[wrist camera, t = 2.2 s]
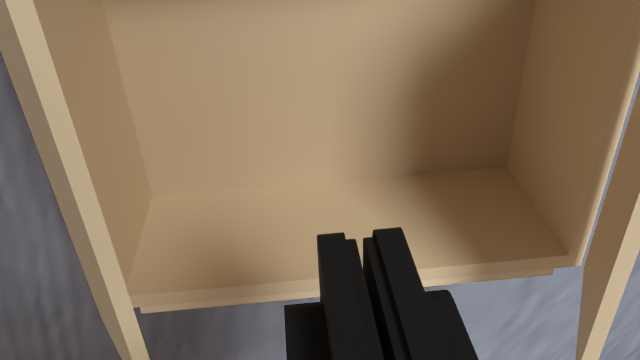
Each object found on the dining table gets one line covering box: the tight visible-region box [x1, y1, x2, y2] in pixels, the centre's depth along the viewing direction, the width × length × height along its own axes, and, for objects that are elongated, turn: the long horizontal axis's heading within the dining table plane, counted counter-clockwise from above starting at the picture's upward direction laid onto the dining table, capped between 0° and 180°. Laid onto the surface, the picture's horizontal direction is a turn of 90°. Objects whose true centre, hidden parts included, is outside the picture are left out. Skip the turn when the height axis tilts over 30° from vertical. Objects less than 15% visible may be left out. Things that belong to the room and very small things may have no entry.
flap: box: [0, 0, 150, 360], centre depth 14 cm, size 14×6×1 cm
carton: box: [33, 0, 640, 314], centre depth 20 cm, size 16×18×7 cm
